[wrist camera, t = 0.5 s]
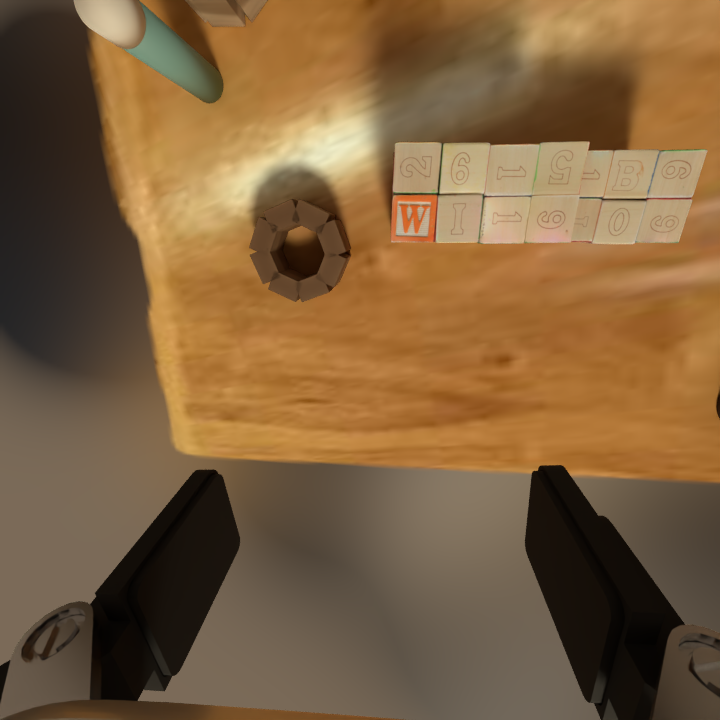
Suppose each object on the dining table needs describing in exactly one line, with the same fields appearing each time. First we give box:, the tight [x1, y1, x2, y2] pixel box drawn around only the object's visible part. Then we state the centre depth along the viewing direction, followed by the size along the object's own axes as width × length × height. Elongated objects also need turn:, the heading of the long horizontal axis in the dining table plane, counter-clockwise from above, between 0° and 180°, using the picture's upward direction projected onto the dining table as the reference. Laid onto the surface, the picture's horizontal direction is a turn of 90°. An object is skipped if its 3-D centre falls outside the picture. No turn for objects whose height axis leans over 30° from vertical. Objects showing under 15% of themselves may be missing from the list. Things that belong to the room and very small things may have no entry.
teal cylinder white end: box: [74, 0, 223, 103], centre depth 27 cm, size 3×3×13 cm
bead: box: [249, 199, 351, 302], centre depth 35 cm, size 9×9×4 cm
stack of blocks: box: [391, 141, 707, 244], centre depth 28 cm, size 21×6×12 cm, turn 89°
